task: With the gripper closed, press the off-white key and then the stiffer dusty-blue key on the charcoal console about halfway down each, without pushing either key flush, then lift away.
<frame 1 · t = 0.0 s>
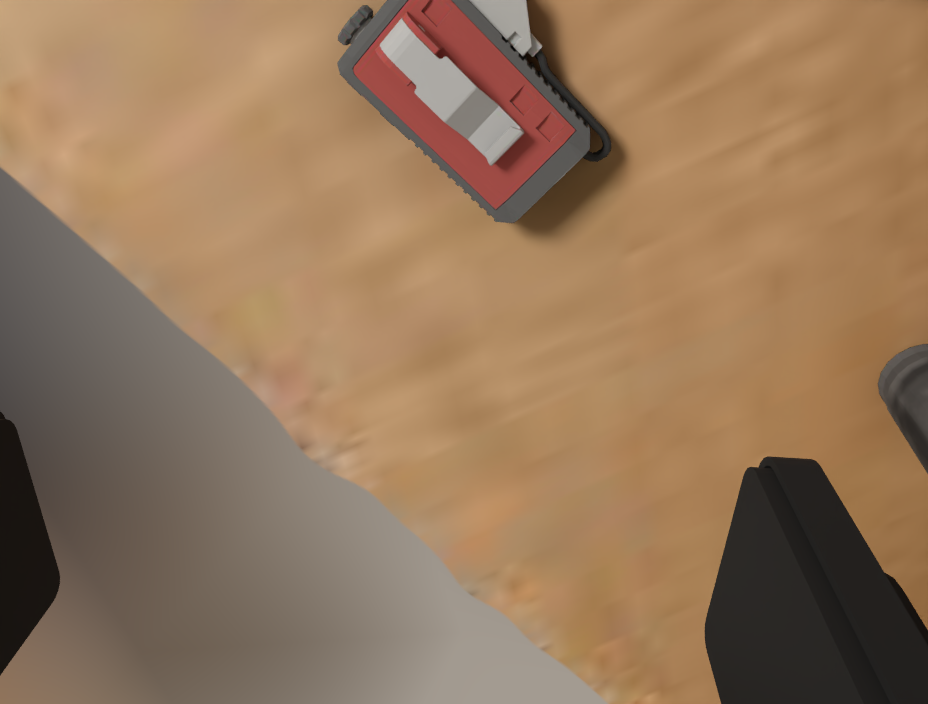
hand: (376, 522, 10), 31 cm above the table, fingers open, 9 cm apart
walkie-talkie: (437, 30, 36), on the table
beverage cup: (917, 376, 43), on the table
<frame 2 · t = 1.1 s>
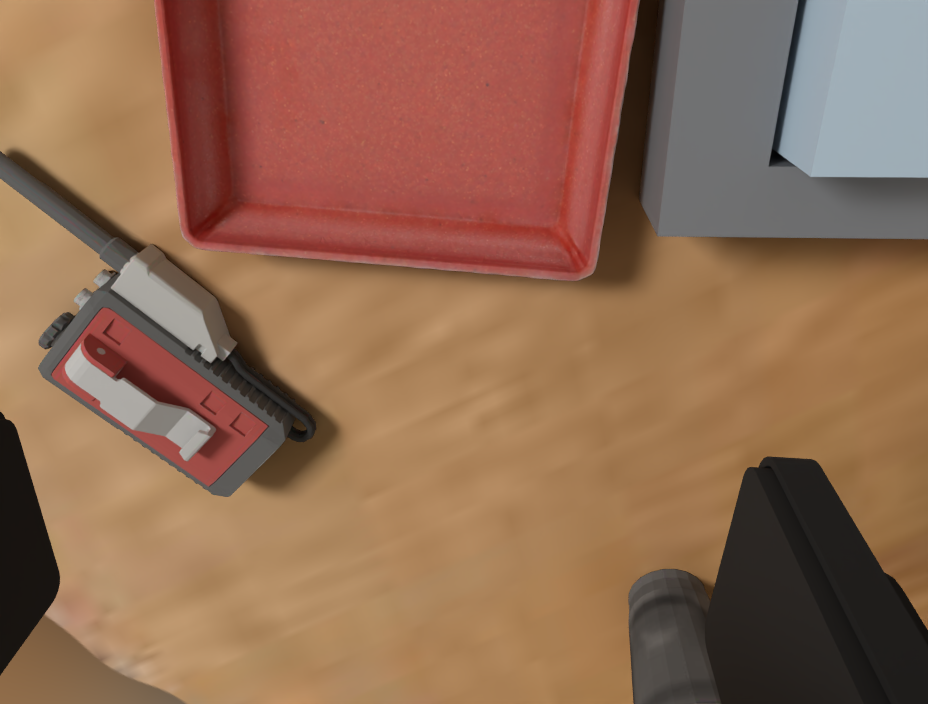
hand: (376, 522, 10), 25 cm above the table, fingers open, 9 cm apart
walkie-talkie: (146, 323, 38), on the table
plant saucer: (404, 35, 31), on the table
blue key: (891, 72, 25), point 6 cm above the table, slide at 0.0 cm
beverage cup: (666, 594, 44), on the table
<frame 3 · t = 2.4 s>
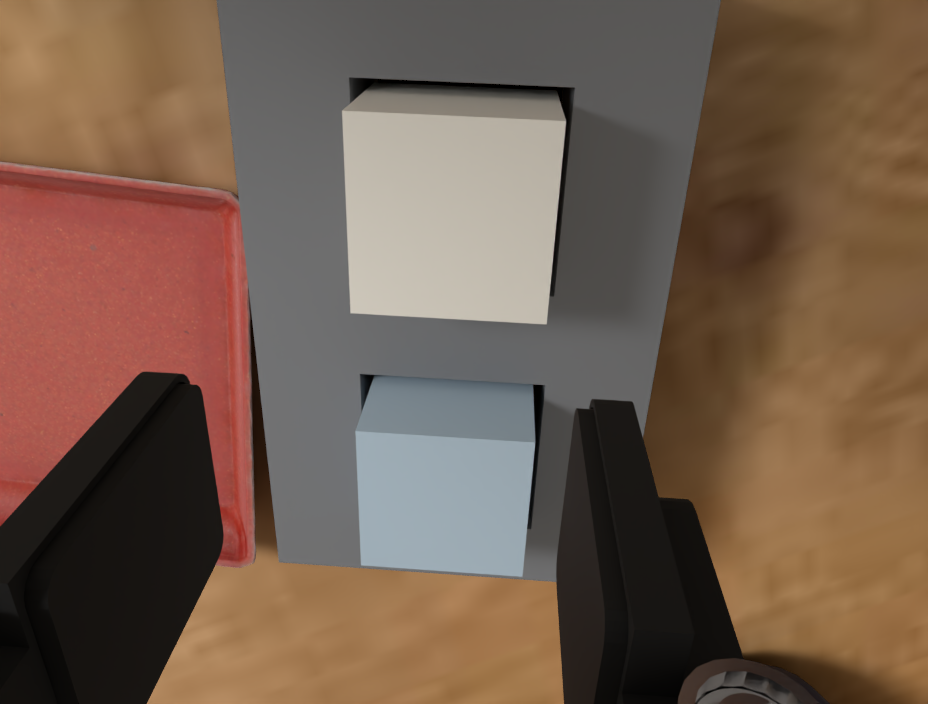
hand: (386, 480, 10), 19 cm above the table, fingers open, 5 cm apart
plant saucer: (74, 342, 33), on the table
blue key: (448, 463, 27), point 5 cm above the table, slide at 0.0 cm
white key: (456, 198, 23), point 5 cm above the table, slide at 0.0 cm
console: (462, 280, 30), on the table
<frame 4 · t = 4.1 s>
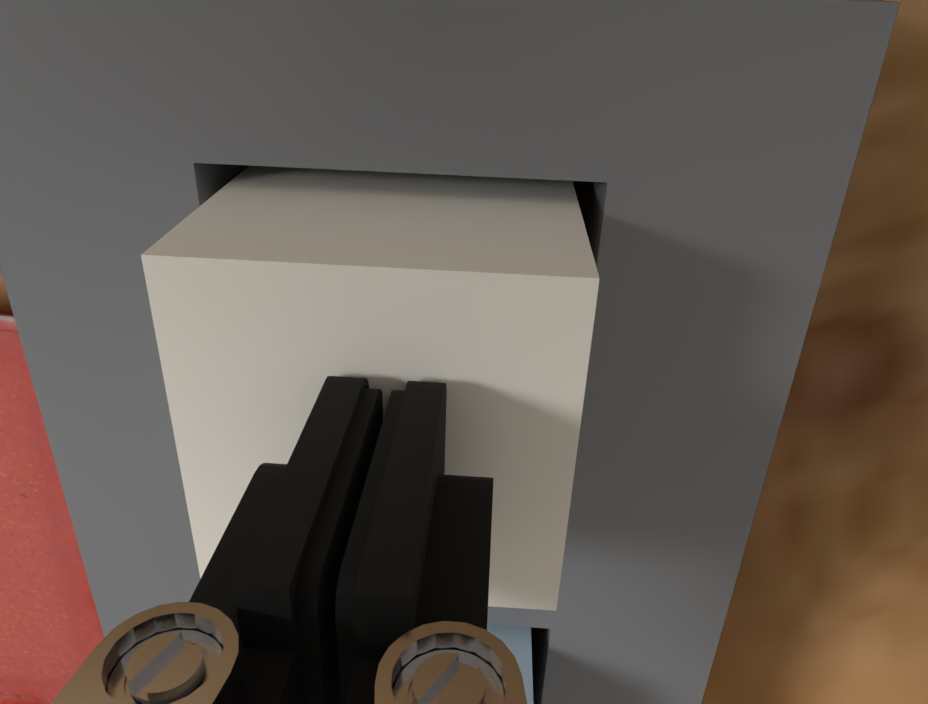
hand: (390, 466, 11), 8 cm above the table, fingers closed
white key: (396, 368, 13), point 5 cm above the table, slide at 0.0 cm, touching gripper
console: (425, 428, 20), on the table
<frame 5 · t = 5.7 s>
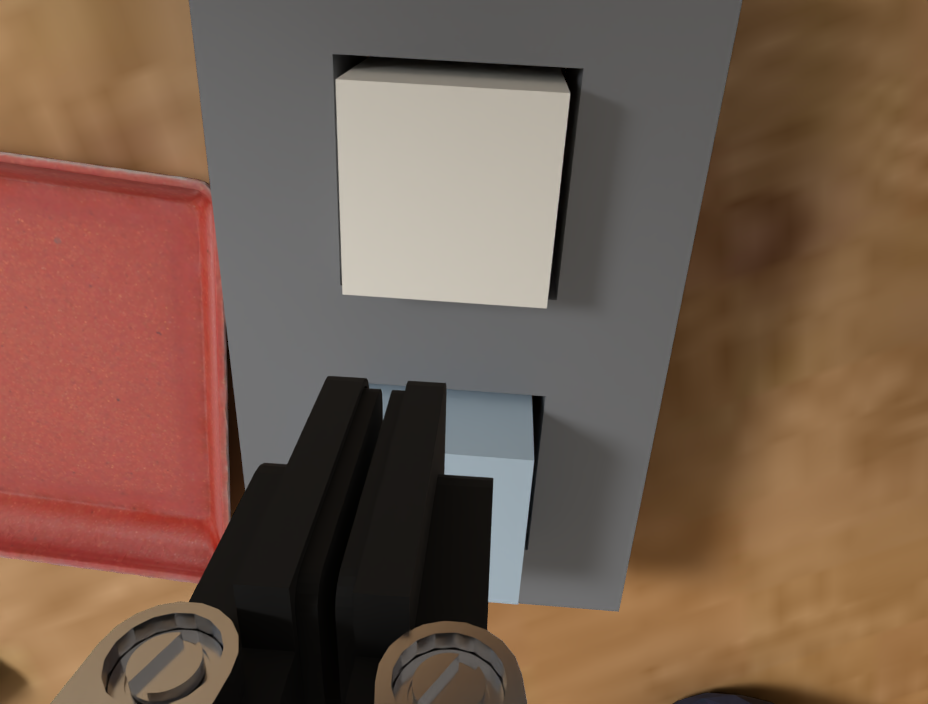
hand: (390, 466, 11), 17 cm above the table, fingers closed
plant saucer: (39, 342, 31), on the table
blue key: (439, 479, 25), point 5 cm above the table, slide at 0.0 cm
white key: (454, 176, 22), point 4 cm above the table, slide at 1.5 cm
console: (457, 281, 28), on the table
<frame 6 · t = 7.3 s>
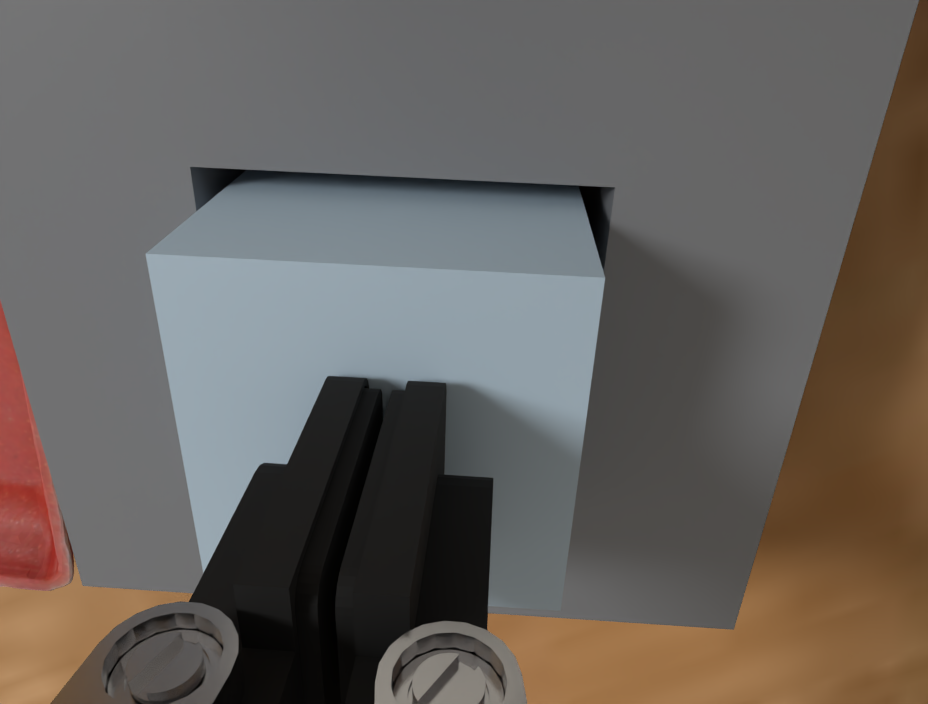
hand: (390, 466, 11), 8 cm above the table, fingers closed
blue key: (400, 368, 13), point 5 cm above the table, slide at 0.3 cm, touching gripper
console: (432, 28, 15), on the table
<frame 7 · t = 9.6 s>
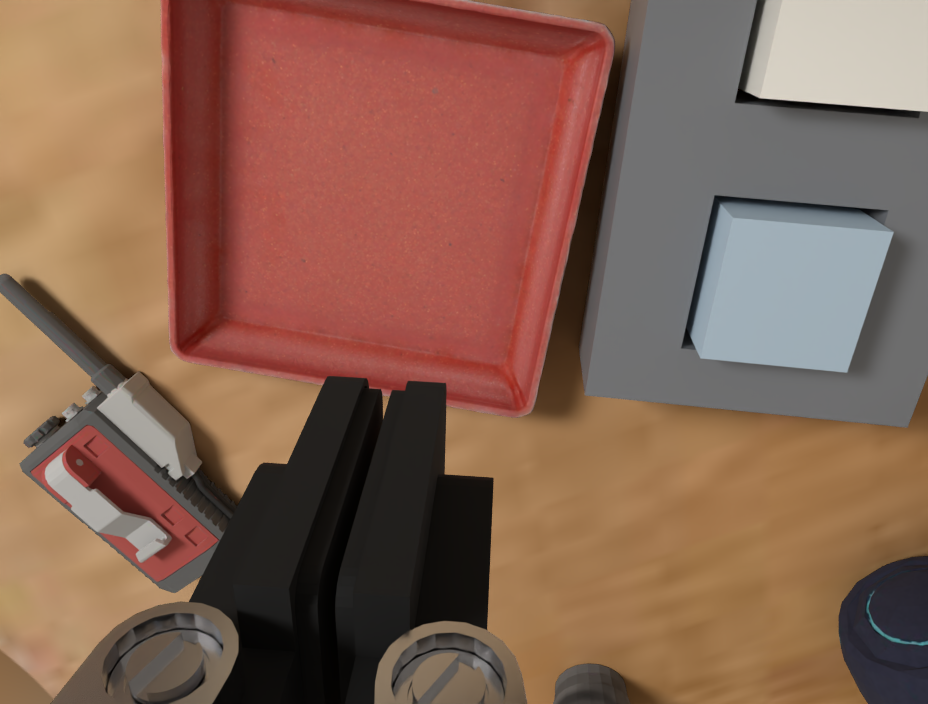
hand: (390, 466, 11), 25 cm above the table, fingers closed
walkie-talkie: (123, 431, 43), on the table
plant saucer: (381, 194, 36), on the table
blue key: (773, 276, 31), point 4 cm above the table, slide at 1.3 cm
white key: (842, 10, 26), point 4 cm above the table, slide at 1.5 cm
console: (774, 135, 32), on the table
beverage cup: (590, 686, 48), on the table
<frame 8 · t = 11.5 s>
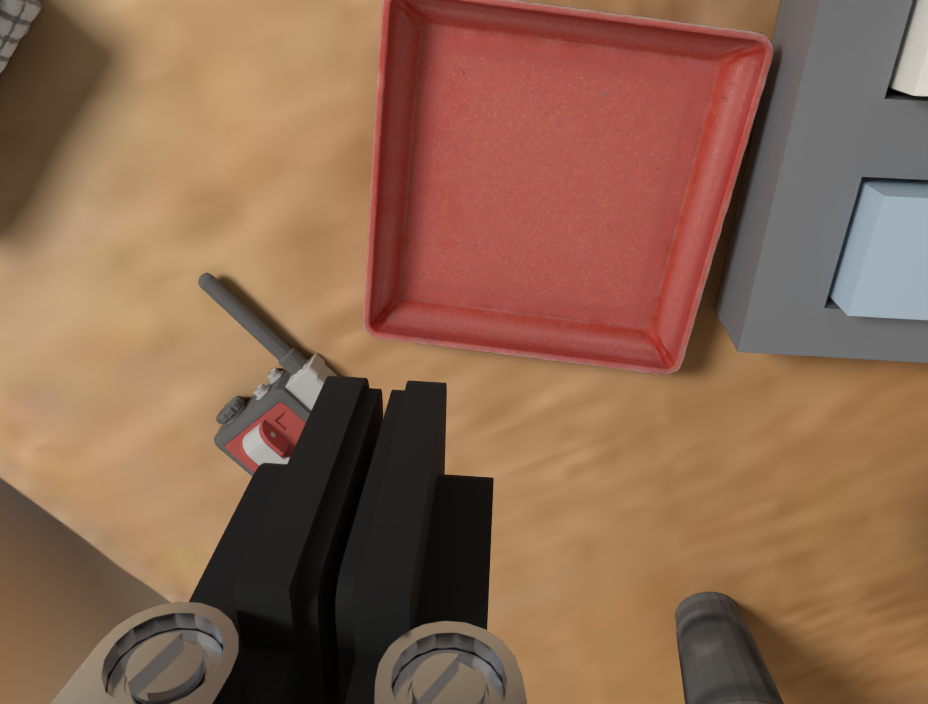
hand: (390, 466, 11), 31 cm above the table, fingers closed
walkie-talkie: (295, 406, 48), on the table
plant saucer: (545, 184, 41), on the table
blue key: (904, 243, 36), point 4 cm above the table, slide at 1.3 cm
console: (897, 120, 37), on the table
beverage cup: (706, 612, 54), on the table
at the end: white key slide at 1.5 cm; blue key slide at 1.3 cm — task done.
